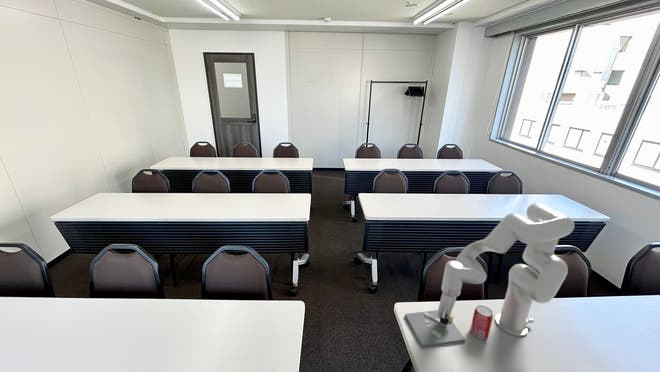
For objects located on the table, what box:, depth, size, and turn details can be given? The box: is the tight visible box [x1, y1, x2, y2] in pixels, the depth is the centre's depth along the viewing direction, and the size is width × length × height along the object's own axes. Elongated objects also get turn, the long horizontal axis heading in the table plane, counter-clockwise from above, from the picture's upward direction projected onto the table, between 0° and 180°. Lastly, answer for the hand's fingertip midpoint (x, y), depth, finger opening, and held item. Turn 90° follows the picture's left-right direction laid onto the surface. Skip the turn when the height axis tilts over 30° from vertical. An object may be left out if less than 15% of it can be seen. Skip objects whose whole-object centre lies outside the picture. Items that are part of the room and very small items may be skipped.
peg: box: [424, 311, 455, 326], centre depth 121 cm, size 12×3×7 cm, turn 49°
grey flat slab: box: [404, 309, 466, 349], centre depth 120 cm, size 20×17×2 cm
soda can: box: [470, 304, 494, 340], centre depth 116 cm, size 7×7×13 cm
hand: (444, 320), depth 120 cm, fingers closed on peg, 2 cm apart
